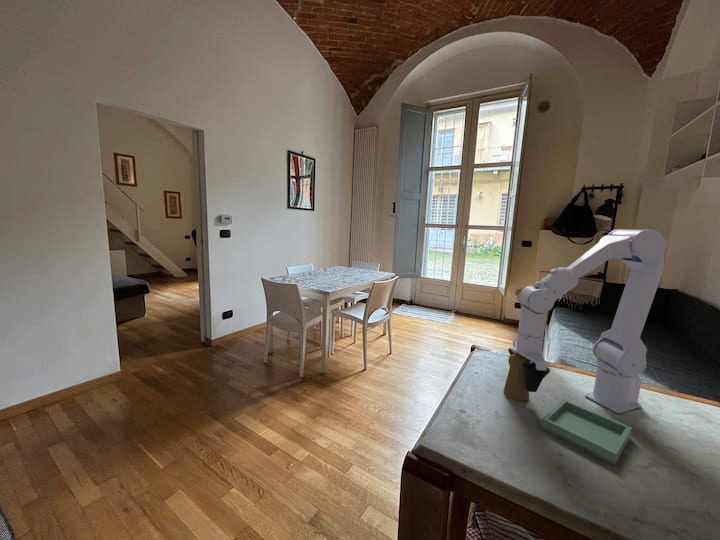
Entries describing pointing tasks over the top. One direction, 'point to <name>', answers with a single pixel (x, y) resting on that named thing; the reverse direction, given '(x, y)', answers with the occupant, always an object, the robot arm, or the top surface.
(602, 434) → the tray
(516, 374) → the cork
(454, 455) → the top surface
